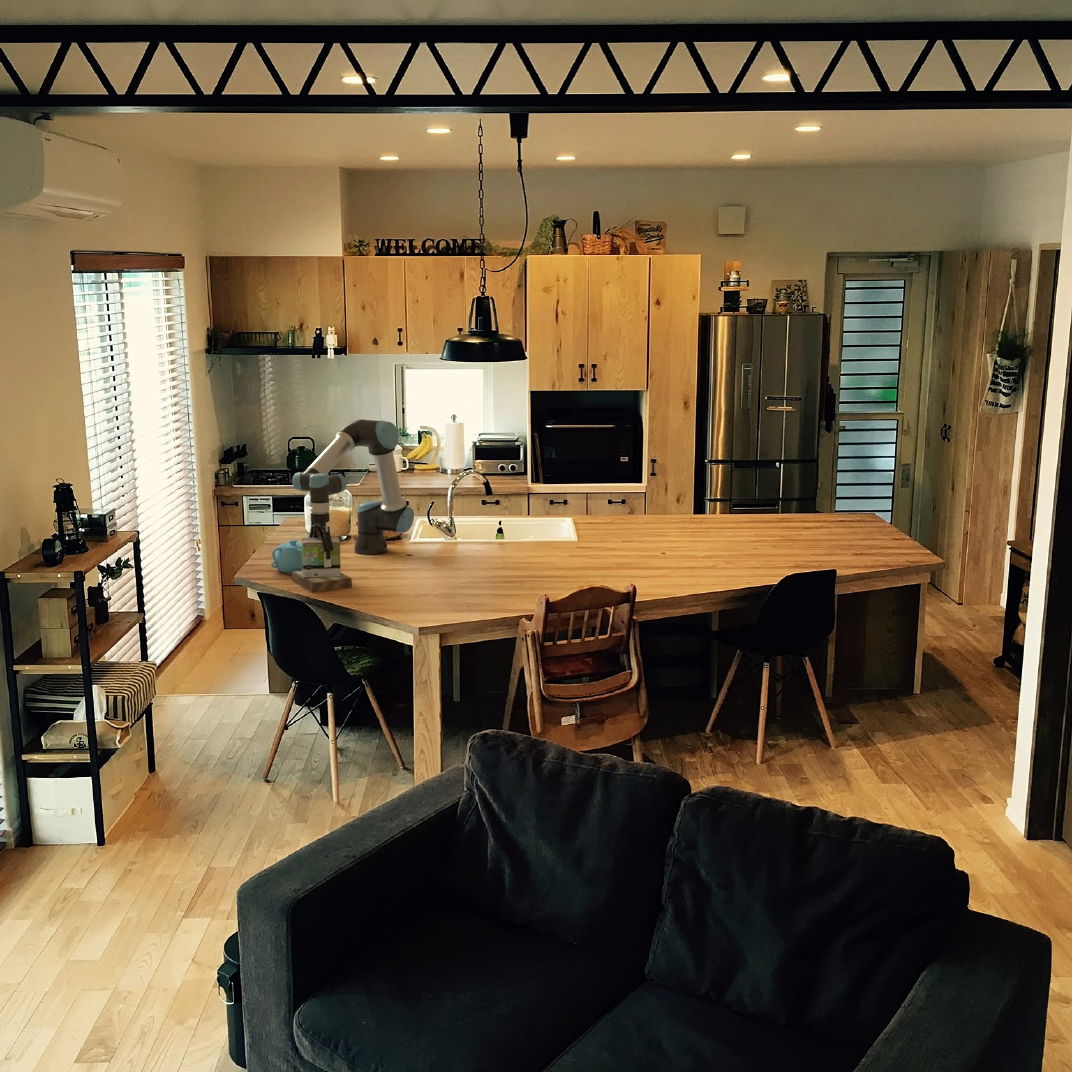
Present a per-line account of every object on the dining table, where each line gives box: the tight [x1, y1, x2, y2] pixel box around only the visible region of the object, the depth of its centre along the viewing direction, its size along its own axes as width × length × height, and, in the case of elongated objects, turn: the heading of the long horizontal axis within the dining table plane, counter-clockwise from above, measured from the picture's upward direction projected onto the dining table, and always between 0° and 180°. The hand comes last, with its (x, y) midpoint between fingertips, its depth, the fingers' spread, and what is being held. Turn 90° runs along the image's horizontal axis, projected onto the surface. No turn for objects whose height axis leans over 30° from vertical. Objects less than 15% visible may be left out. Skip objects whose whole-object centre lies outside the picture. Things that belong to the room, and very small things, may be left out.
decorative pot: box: [270, 539, 303, 575], centre depth 485 cm, size 16×16×14 cm
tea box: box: [301, 536, 341, 578], centre depth 463 cm, size 15×10×15 cm, turn 103°
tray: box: [291, 570, 353, 594], centre depth 465 cm, size 17×22×4 cm
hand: (321, 563), depth 464 cm, fingers open, 13 cm apart
